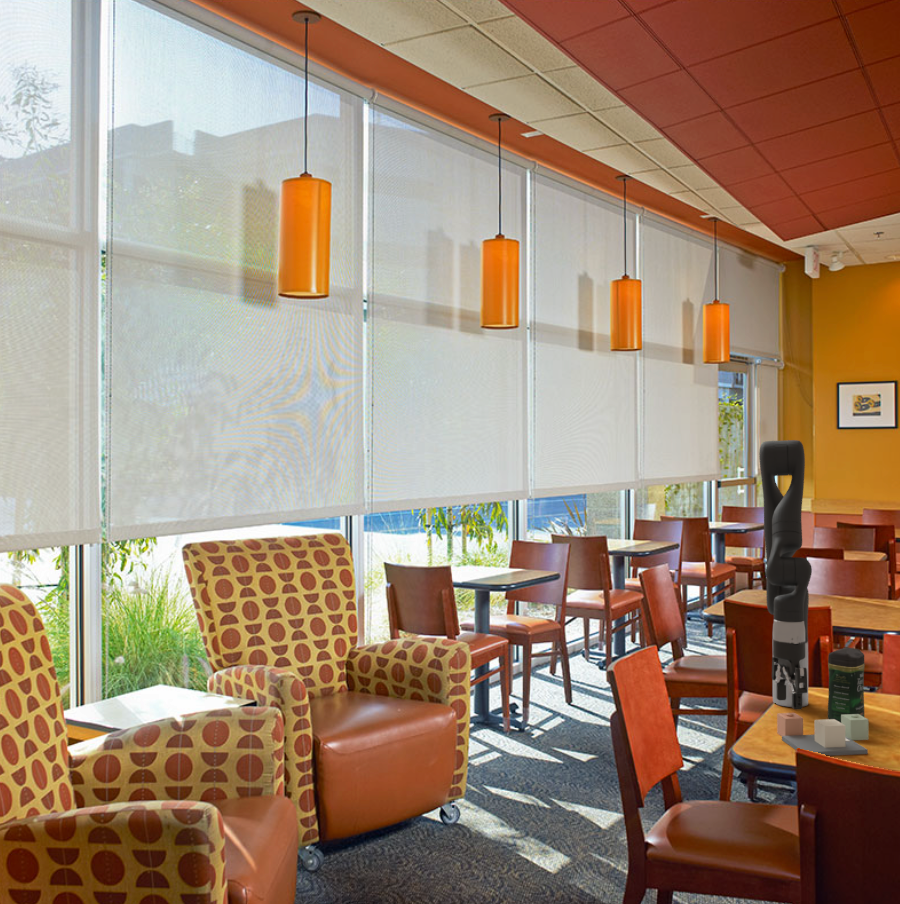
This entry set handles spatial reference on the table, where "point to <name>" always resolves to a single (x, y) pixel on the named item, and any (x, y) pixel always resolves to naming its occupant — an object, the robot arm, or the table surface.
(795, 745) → the build board
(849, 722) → the brick sage
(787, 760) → the table surface
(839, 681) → the coffee jar
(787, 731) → the brick terracotta
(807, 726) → the table surface
